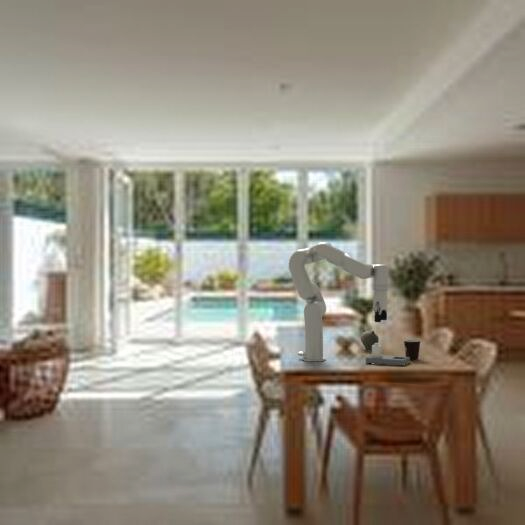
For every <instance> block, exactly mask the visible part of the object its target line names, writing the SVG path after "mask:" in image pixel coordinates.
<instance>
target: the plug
mask: <svg viewBox="0 0 525 525" xmlns="http://www.w3.org/2000/svg"><path fill="white" fill-rule="evenodd" d="M382 350H383V349H382V344H380V343H379V342H378V343H375V344H374V345H372V351H371V355H372V357H376V358H381V357H382V355H383V354H382V352H383V351H382Z"/></svg>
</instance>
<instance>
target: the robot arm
mask: <svg viewBox="0 0 525 525" xmlns="http://www.w3.org/2000/svg"><path fill="white" fill-rule="evenodd" d="M288 261H289V262H288V269H289V272H290V276H291V278H292V280H293V283H294V286H295V288H296V291H297V294H298V296H299V297H300V299H301V300H304V301H305V302H306V305H305V306H304V307H303V308H304V309H303V316H304V351H298V356H302V358H301V359H302V361H303V360H304V362H310V361H319V362H325V361H326V360H327V358H326V357H325V356H324V329H323V328H324V327H323V326H324V325H323V324H324V323H323V316H325V314H326V312H327V305H326V302H325V300H324V296H323V294H322V292H321V289H320V287H319V285H318V284H317V283H316V282H315V281H311V278H310V276H309V273H308V271H307V270H306V266H305V265H310V264H313V263H316V262H319V261H325V262H327V263H330V264H331V265H334V266H336V267H337V268H340V269H341V270H342V271H345V272H347V273H348V274H350V275H352V276H355V277H356V278H359V279H362V280H367V279H371V278H373V286H372V287H373V297H372V298H373V300H372V309H373V311H374V322H375V323H381V322H382V321H387V320H388V292H389V266H388V265H387V264H371V263H362V262H360V261H358V260H356V259H354V258H353V257H351V256H350V255H349V254H348V253H347V252H346V251H343V250H341V249H339V248H338V247H337V248H336V247H334V246H333V245H332V244H331V243H329V242H326V241H324V242H323V241H322V242H319V243H317V244H316V245H314V246H311V247H307V248H301V249H300V248H299V249H297V250H296V251H294V252H293V253H292V254H291V256H290V258H289V259H288Z"/></svg>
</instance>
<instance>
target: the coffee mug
mask: <svg viewBox="0 0 525 525" xmlns="http://www.w3.org/2000/svg"><path fill="white" fill-rule="evenodd" d="M403 343H404V352H405V357H410V361H417V360H416V359H418V360H419V355H420V347H421V340H419V339H404V340H403Z"/></svg>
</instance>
